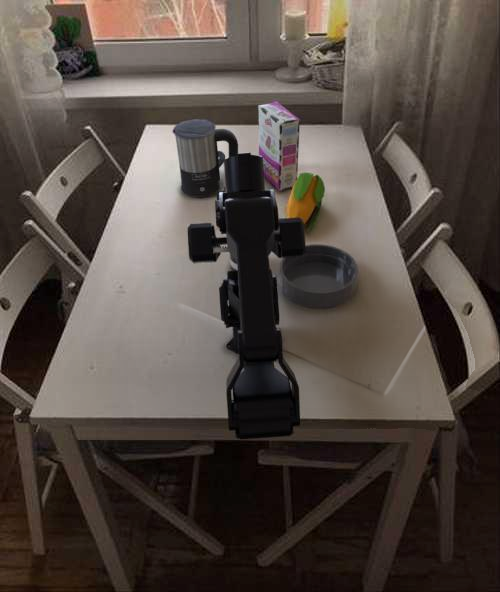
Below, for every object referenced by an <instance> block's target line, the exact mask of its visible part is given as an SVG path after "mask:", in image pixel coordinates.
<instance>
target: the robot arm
mask: <svg viewBox="0 0 500 592" xmlns="http://www.w3.org/2000/svg"><path fill="white" fill-rule="evenodd" d="M223 171H224V185H225V186H224V187H223V189H222V190H218V191H217V192H216V199H215V200H214V211H215V215H214V217H215V225H213V224H212V222H197V223H189V225H188V226H187V227H186V228H187V229H186V231H187V247H188V258H189V261H190V262H191V263H193V264H204V263H205V264H206V263H216V262H218V259H219V258H220V256H221V254H222V253H229V255H230V254H231V255H232V256H233V258H235V259H236V260H237V269H238V270H236V271H232V270H228V271H226V277H223V278H222V282H221V285H220V286H219V287H218V293H219V294H218V295H219V310H220V311H219V312H220V320H221V321H222V322H223V324H224V326H225V329H229V328H232V338H231V339H230V340H229V341H228V342H227V343H226V344H225V348H226V349H227V350H229V351H231V352H233V353H236V354H238V356H237V358H236V360H235V362H234V364H233V366H232V368H231V369H230V371H229V373H228V376H227V377H226V383H225V385H226V387H225V388H226V391H225V394H226V408H227V409H226V410H227V422H228V431H230V432H231V431H234V432H235V433H234V434H235V438H236V439H239V440H240V441H241V440H255V439H270V438H283V437H291V436H293V434H294V427H300V426H301V405H300V402H301V401H300V387H299V384H298V380H297V376H296V375H295V372H294V371H293V369H292V368H291V366H290V365H289V364H288V362H287V360H286V359H285V358H284V355H283V353H284V351H283V337H282V336H283V335H282V330H281V328H280V327H277V326H279V325H280V303H279V289H278V279H277V278H278V277H277V275H276V274H273V272H272V269H271V265H270V258H269V257H270V255H271V253H273V254H274V255H275V256H276V257H277V258H278V259H282V258H289V257H301V256H302V255H303V254H304V253H305V251H306V245H307V244H306V234H305V224H304V222H303V220H302V219H301V218H300V217H296V218H286V217H281V218H280V217H279V206H278V202H277V198H276V193H275V190H274V189H266V182H265V176H264V165H263V157H260V156H259V155H256V154H252V152H238V153H237V156H232V157H229V156H228V157H227V158H225V159H224V162H223ZM215 226H216V227H217V228H218V229H219V233H220V235H226V236H221V237H217V234H216V228H215ZM275 362H278V365H279V367H280V368H281V370H282V371H283V372H281V371H280V370H279V369H278V368H276V367H275Z"/></svg>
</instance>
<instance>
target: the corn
mask: <svg viewBox="0 0 500 592" xmlns="http://www.w3.org/2000/svg"><path fill="white" fill-rule="evenodd" d="M314 174H315V173H313V172H306V171H305V172H300V173H299V174H298V176H297V179H296V180H295V182H294V185H293V188H291V190H290V195H289V197H288V201H287V204H286V207H285V214H286V215H285V218H296V217H300V218H301V219H302V220H303V222H304V225H305V224H306V223H307V221H308V220H309V219H310V217H311V216H312V214H313V216H312V218H311V220H310V223H309V225H308V227H307V229H306V233H309V232H310V230H311V229H312V227H313V225H314V223H315V221H316V220H317V217H318V216H319V213H320V209H321V206H322V202H323V198H324V196H325V191H326V187H325V183H324V181H323V179H322V177H320V175H318V174H316V175H314ZM314 210H315V211H314ZM313 212H314V213H313Z"/></svg>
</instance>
